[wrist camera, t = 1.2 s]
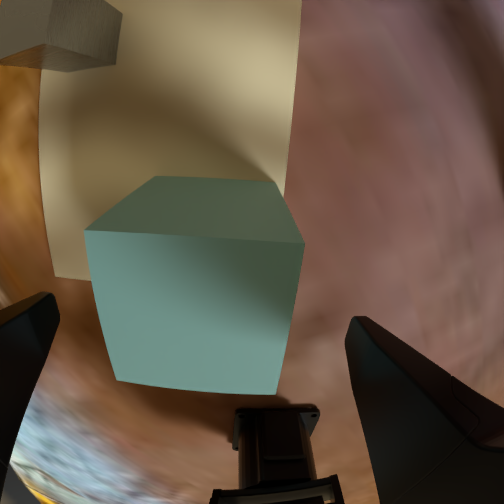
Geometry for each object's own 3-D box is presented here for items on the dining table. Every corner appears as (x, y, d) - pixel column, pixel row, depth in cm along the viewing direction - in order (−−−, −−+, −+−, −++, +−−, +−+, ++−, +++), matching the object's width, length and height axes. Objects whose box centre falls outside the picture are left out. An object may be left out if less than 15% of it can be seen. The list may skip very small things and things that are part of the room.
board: (269, 285, 16) (270, 295, 15) (63, 268, 15) (55, 276, 14) (300, -24, 9) (303, -32, 8) (66, -7, 9) (56, -12, 8)
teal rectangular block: (263, 288, 15) (275, 394, 9) (158, 280, 15) (116, 379, 9) (275, 182, 13) (304, 243, 7) (155, 175, 12) (83, 230, 6)
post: (115, 64, 10) (44, 43, 5) (67, 72, 10) (-12, 64, 5) (122, 14, 9) (61, -29, 4) (74, 24, 9) (2, -3, 4)
